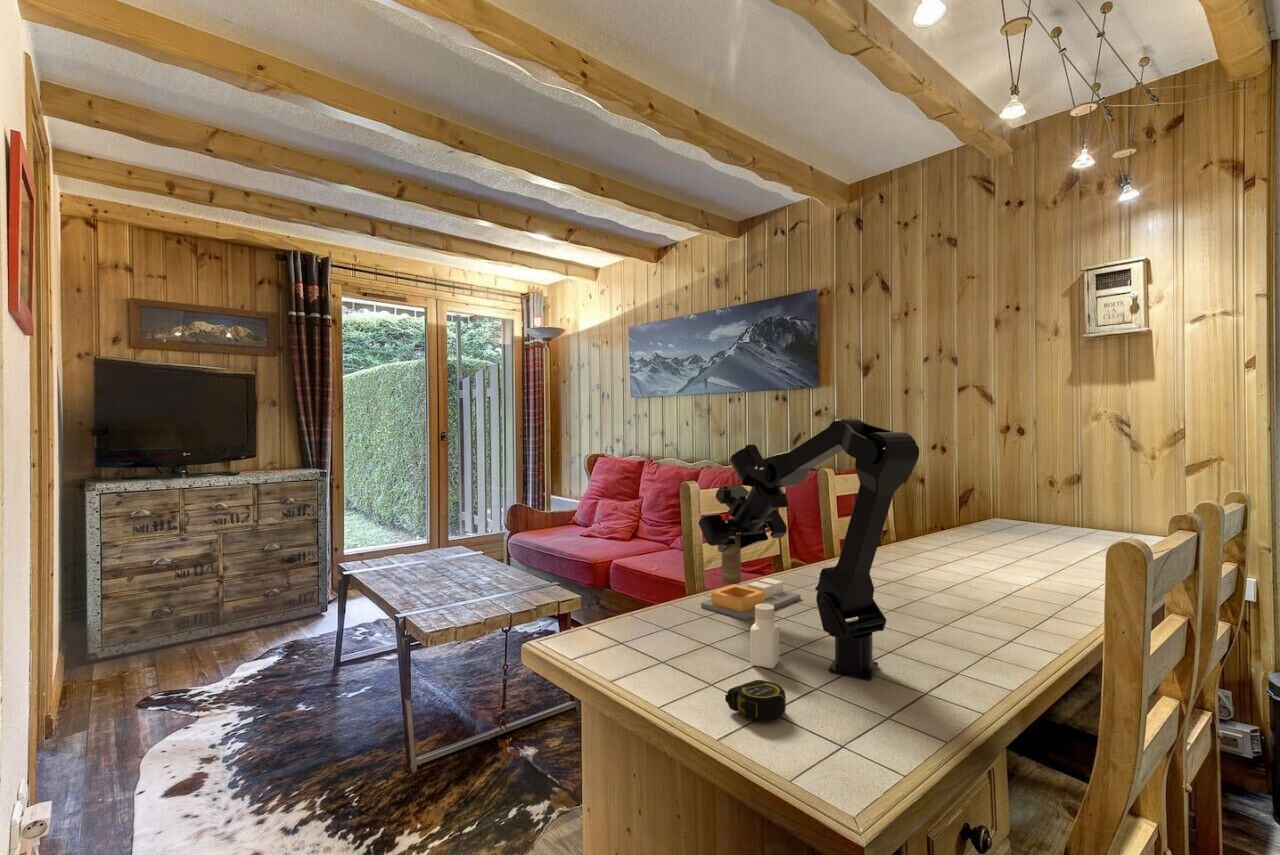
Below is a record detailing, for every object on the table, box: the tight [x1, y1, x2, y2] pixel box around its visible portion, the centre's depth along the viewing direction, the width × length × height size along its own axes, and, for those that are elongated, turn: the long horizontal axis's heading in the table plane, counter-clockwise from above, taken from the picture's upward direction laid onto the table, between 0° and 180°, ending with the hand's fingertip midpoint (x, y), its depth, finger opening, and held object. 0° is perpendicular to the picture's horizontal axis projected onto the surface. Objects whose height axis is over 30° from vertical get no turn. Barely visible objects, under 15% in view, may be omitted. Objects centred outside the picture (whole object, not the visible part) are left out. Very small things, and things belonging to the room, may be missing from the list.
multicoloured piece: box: [700, 577, 801, 621], centre depth 130 cm, size 20×12×4 cm, turn 134°
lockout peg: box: [721, 520, 742, 585], centre depth 126 cm, size 4×4×12 cm
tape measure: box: [724, 679, 787, 722], centre depth 81 cm, size 7×7×4 cm
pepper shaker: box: [750, 604, 780, 669], centre depth 98 cm, size 4×4×10 cm
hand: (727, 549), depth 127 cm, fingers closed on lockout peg, 4 cm apart
